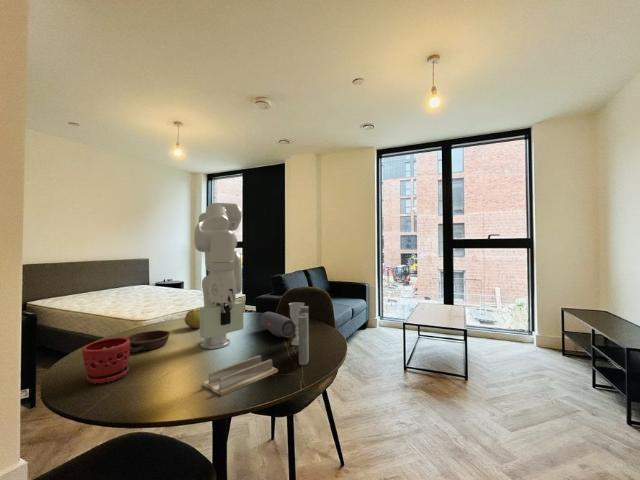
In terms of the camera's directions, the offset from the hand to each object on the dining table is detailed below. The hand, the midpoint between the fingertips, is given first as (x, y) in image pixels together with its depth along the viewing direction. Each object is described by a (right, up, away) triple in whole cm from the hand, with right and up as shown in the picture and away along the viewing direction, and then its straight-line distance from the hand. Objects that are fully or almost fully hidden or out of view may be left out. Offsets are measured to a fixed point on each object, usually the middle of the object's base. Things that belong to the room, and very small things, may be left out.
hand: (222, 322), depth 99 cm
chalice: (+22, -20, +37) cm, 47 cm away
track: (+6, -19, +2) cm, 20 cm away
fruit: (-36, -21, +65) cm, 77 cm away
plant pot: (-40, -20, +3) cm, 45 cm away
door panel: (0, -3, 0) cm, 3 cm away
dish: (-45, -21, +36) cm, 61 cm away
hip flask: (+26, -20, +20) cm, 38 cm away
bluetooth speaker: (+10, -20, +52) cm, 57 cm away
